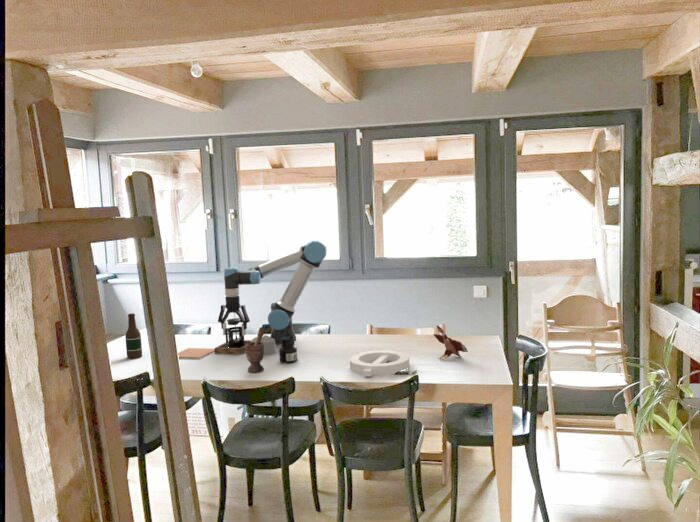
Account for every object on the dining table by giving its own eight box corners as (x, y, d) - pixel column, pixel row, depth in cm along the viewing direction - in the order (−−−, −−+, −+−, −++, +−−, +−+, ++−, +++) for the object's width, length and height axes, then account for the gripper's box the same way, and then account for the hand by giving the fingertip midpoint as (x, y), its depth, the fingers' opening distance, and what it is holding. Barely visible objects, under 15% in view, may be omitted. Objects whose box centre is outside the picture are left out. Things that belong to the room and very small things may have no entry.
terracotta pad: (217, 350, 314) (217, 348, 314) (200, 359, 297) (200, 357, 297) (188, 349, 319) (188, 348, 319) (170, 358, 301) (170, 356, 301)
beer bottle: (145, 355, 310) (142, 312, 307) (135, 359, 302) (132, 315, 300) (133, 355, 312) (130, 312, 310) (124, 358, 305) (120, 315, 303)
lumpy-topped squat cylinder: (257, 349, 311) (256, 334, 311) (279, 350, 307) (278, 335, 306) (248, 354, 302) (247, 338, 301) (270, 355, 297) (269, 339, 297)
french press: (249, 348, 316) (247, 307, 314) (240, 352, 308) (238, 310, 306) (232, 347, 321) (229, 306, 319) (222, 351, 312) (219, 310, 310)
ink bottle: (290, 364, 278) (289, 340, 277) (275, 363, 283) (274, 339, 282) (301, 359, 287) (300, 336, 286) (287, 358, 291) (285, 335, 290)
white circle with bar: (365, 380, 249) (364, 369, 249) (341, 365, 275) (340, 355, 274) (420, 370, 260) (420, 360, 260) (392, 356, 286) (391, 347, 285)
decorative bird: (413, 348, 284) (422, 320, 285) (443, 357, 291) (451, 330, 292) (443, 362, 258) (453, 330, 258) (474, 371, 264) (484, 341, 265)
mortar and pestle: (252, 366, 278) (250, 326, 277) (269, 366, 277) (267, 326, 275) (244, 373, 267) (241, 331, 265) (261, 373, 266) (259, 331, 264)
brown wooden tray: (256, 345, 321) (256, 340, 321) (241, 354, 303) (241, 348, 303) (231, 345, 325) (230, 339, 325) (214, 353, 307) (214, 348, 307)
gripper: (254, 294, 312) (256, 333, 314) (216, 294, 318) (218, 332, 320) (248, 297, 305) (250, 337, 307) (209, 296, 311) (212, 335, 313)
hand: (234, 335), depth 313 cm, fingers closed on french press, 11 cm apart
